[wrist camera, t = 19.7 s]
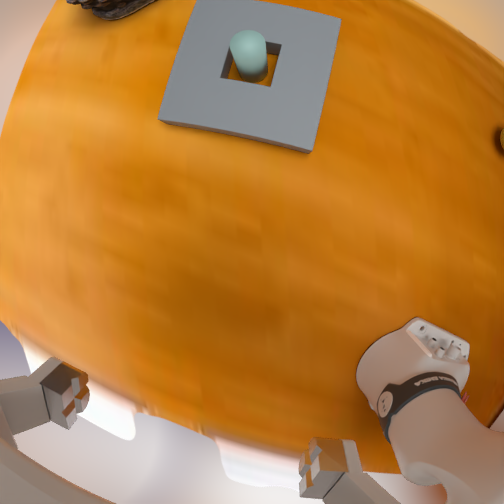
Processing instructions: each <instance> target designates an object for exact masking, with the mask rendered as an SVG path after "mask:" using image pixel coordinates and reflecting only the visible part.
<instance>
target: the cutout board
mask: <svg viewBox="0 0 504 504" xmlns="http://www.w3.org/2000/svg"><path fill="white" fill-rule="evenodd" d="M340 24H341V19H339V18H336V17H332V16H329V15H325V14H321V13H317V12H313V11H309V10H305V9H300V8H295V7H290V6H285V5H280V4H274V3H268V2H261V1H254V0H197V2H196V4H195V6H194V9H193V11H192V14H191V17H190V19H189V22H188V24H187V27H186V30H185V32H184V35H183V38H182V41H181V44H180V46H179V49H178V52H177V55H176V58H175V61H174V64H173V67H172V70H171V74H170V77H169V80H168V83H167V87H166V90H165V94H164V97H163V101H162V104H161V108H160V111H159V115H158V120H160V121H162V122H164V123H166V124H170V125H177V126H183V127H189V128H195V129H201V130H207V131H212V132H217V133H223V134H228V135H233V136H237V137H242V138H247V139H251V140H256V141H260V142H265V143H269V144H273V145H277V146H281V147H285V148H289V149H293V150H297V151H301V152H304V153H308V154H309V153H310V152H311V151H312V150H313V146H314V141H315V137H316V133H317V129H318V125H319V120H320V116H321V112H322V107H323V103H324V99H325V94H326V90H327V85H328V81H329V76H330V72H331V67H332V63H333V58H334V53H335V49H336V44H337V39H338V34H339V29H340ZM244 30H253V31H256V32H258V33H260V34H261V35H262V36H263V37H264V39H265V43H266V53H270V54H275V55H279V57H278V61H277V65H276V69H275V72H274V76H273V80H272V84H271V87H268V86H263V85H258V84H253V83H248V82H242V81H237V80H231V79H227V78H228V74H229V71H230V67H231V64H232V61H233V55H232V52H231V50H230V41H231V39H232V37H233V36H234V35H235V34H236V33H238V32H240V31H244Z"/></svg>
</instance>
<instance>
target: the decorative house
mask: <svg viewBox="0 0 504 504" xmlns="http://www.w3.org/2000/svg"><path fill="white" fill-rule="evenodd" d="M66 1H67V3H69V4H73V5H76V4H81V6H82V8H84V9H91V8H92V11H93V14H94V15H96V16H98V17H100V18H103V19H108V20H113V19H117V18H122V17H124V16H126V15H128V14H131V13H133V12H135V11H136V10H138V9H140V8H142V7H144V6H145V5H147V4H148V3H151V2H153V1H154V0H66Z"/></svg>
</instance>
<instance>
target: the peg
mask: <svg viewBox="0 0 504 504" xmlns="http://www.w3.org/2000/svg"><path fill="white" fill-rule="evenodd" d="M230 50H231V52H232V55H233V58H234V61H235V63H236V66H237V69H238V72H239V74H240V76H241V78H242V79H243V80H245V81H246V82H250V83H256V82H260V81H262V80H263V79H264V78H265V77H266V75H267V73H268V66H267V54H266V43H265V39H264V37H263V36H262V35H261V34H260V33H258V32H256V31H253V30H244V31H240V32H238V33H236V34H235V35H234V36H233V37H232V39H231V41H230Z"/></svg>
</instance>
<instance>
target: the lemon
mask: <svg viewBox="0 0 504 504" xmlns="http://www.w3.org/2000/svg"><path fill="white" fill-rule="evenodd" d="M500 142H501V145H502V147H503V149H504V128H503V130H502V131H501V134H500Z"/></svg>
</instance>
